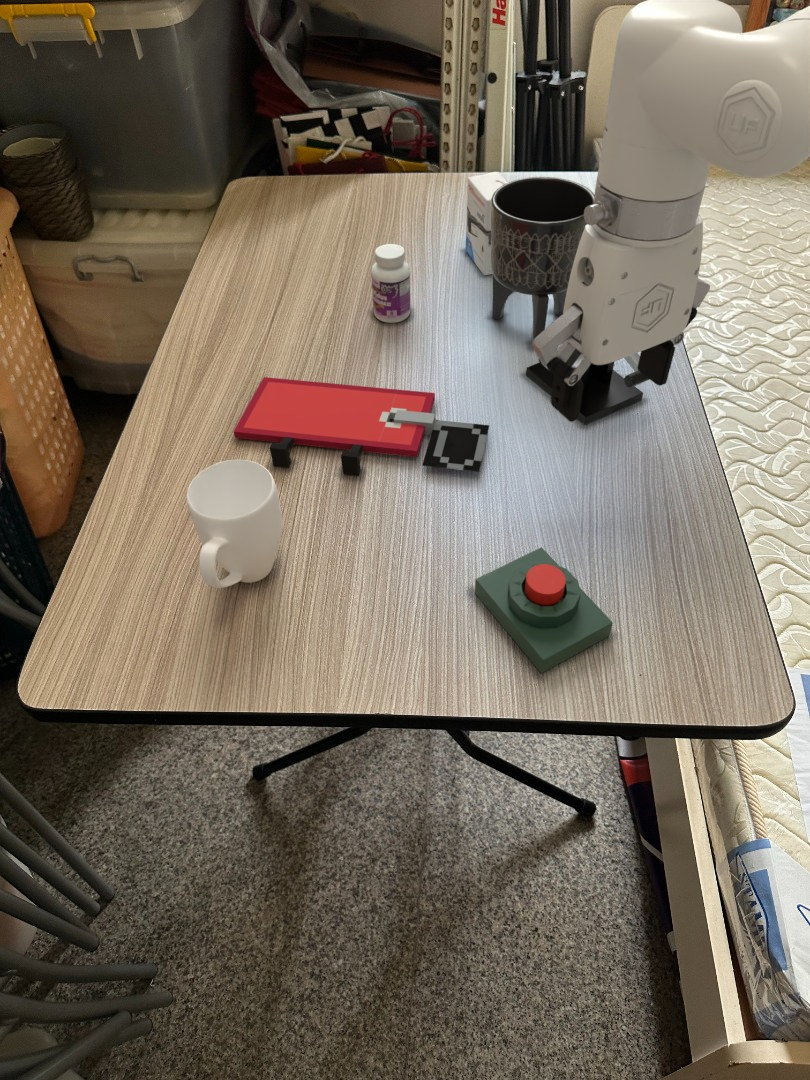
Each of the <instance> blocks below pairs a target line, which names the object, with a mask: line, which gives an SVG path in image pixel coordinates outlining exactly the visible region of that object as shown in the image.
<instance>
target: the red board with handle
mask: <svg viewBox="0 0 810 1080" xmlns="http://www.w3.org/2000/svg"><path fill="white" fill-rule="evenodd" d="M435 400H436V393H435V392H429V391H419V390H418V391H417V390H409V389H408V390H407V389H395V388H386V387H385V388H384V387H375V386H366V385H365V386H363V385H353V384H341V383H331V382H320V381H311V380H298V379H297V380H296V379H288V378H277V377H266V376H264V377H263V378H262V379H261V382H260V383H259V385H258V386H257V389H256V390H255V392H254V394H253V396H252V397H251V399H250V401H249V402H248V405H247V406H246V408H245V409H244V412H243V414H242V415H241V417H240V419H239V420H238V422H237V424H236V426H235V428H234V430H233V436H234V438H235V439H244V440H252V441H253V440H254V441H264V442H271V444H270V446H269V452H270V457H271V461H272V466H273V467H275V468H276V467H277V468H284V469H290V466H291V464H292V460H291V454H290V450H291V449H292V447H293V446H294V445H299V446H308V447H309V446H310V447H318V448H328V449H338V450H342V451H341V454H340V461H341V468H342V475H347V476H356V477H360V475H361V472H362V468H361V455H362V453H363V452H365V453H375V454H382V455H392V456H403V457H409V458H410V457H411V458H418V457H419V454H420V451H421V447H422V443H423V440H424V437H425V436H430V437H429V441H428V444H427V448H426V449H425V454H424V458H423V460H422V464H421V466H423V467H431V468H440V469H448V470H449V469H450V470H457V471H458V470H459V471H467V472H476V473H479V472H480V471H481V467H482V462H483V457H484V452H485V448H486V443H487V437H488V434H489V429H490V425H489V424H482V423H481V424H479V423H470V422H461V421H451V420H440V419H436V413H434V412H433V413H432V410H433V407H434V406H433V405H434V403H435ZM391 420H393V421H392V422H391Z"/></svg>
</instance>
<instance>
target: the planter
mask: <svg viewBox="0 0 810 1080" xmlns="http://www.w3.org/2000/svg"><path fill="white" fill-rule="evenodd" d="M594 195H595V192H593V191H592V190H591V189H589V188H588V187H587V186H585V185H583V184H581V183H579V182H576V181H572V180H570V179H565V178H560V177H554V176H553V177H552V176H532V177H531V176H530V177H525V178H519V179H515V180H512V181H509V182H508V183H506V184H504V185H503V186H501V187H500V188H498V189H497V190H496V191H495V192H494V194H493V196H492V200H491V269H492V273H493V274H492V294H491V295H492V301H491V302H492V305H491V307H492V310H491V312H492V313H491V318H493V319H496V320H501V319H502V317H503V316H504V312H505V308H506V304H507V301H508V299H509V297H510V296H511V295H512V294H514V293H518V294H522V295H529V296H531V299H532V335H531V343H532V342H533V340H534V339H535V338H536V337H537V336H538V335H539V334H540V333H541V332H543V331H544V330H545V329H546V325H547V316H548V310H549V301H550V297H549V296H552V298H553V313H554V314H555V315H557V316H558V317H560V316H561V315H562V314H563V311H564V305H565V299H566V294H567V289H568V284H569V279H570V275H571V271H572V267H573V263H574V260H575V256H576V253H577V249H578V246H579V243H580V240H581V237H582V234H583V231H584V229H585V226H586V225H587V223H586V221H585V218H584V210H585V208H586V207H587V206H589V205H592V204H593V202H594Z"/></svg>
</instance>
